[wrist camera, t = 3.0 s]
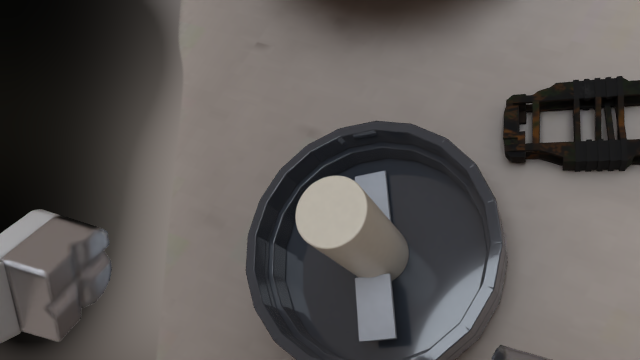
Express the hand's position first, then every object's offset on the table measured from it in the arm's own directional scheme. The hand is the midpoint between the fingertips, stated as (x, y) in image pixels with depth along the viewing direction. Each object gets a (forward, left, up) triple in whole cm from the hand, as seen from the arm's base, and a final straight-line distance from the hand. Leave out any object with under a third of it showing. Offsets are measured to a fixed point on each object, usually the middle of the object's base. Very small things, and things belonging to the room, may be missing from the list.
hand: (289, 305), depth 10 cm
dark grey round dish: (+5, +5, -20) cm, 21 cm away
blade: (+5, +5, -19) cm, 20 cm away
